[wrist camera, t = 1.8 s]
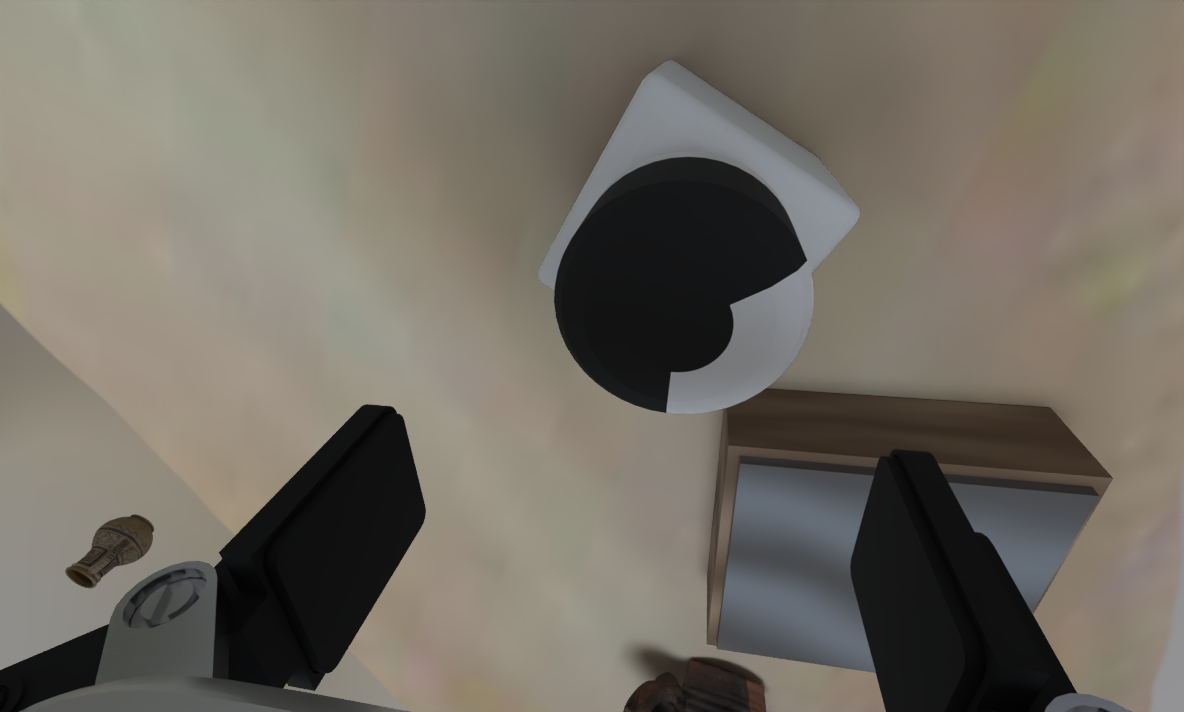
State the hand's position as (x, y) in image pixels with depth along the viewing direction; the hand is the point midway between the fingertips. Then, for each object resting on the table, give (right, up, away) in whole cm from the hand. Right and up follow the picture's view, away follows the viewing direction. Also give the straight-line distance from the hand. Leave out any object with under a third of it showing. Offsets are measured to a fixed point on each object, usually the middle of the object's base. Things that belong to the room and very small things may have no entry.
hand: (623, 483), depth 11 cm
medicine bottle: (+3, +9, +12) cm, 15 cm away
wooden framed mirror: (+13, -5, +18) cm, 23 cm away
